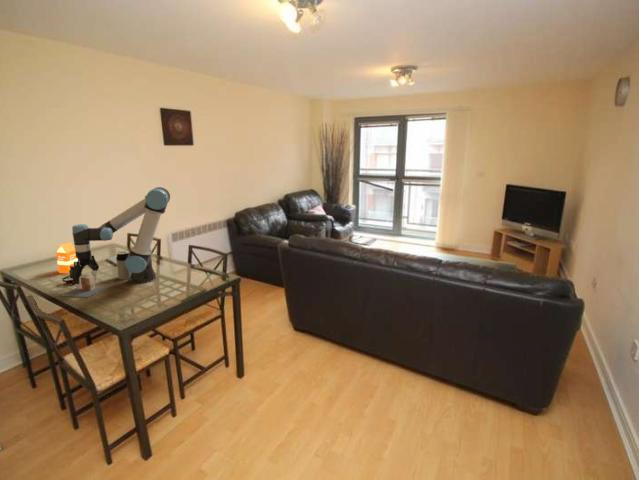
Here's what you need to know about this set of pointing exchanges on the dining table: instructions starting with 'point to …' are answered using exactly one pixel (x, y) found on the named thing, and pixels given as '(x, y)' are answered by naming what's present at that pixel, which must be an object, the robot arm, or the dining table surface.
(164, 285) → the dining table surface
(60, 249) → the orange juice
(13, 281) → the dining table surface
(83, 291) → the mat
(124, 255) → the travel mug
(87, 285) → the wooden block
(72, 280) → the binoculars
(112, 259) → the tablet
